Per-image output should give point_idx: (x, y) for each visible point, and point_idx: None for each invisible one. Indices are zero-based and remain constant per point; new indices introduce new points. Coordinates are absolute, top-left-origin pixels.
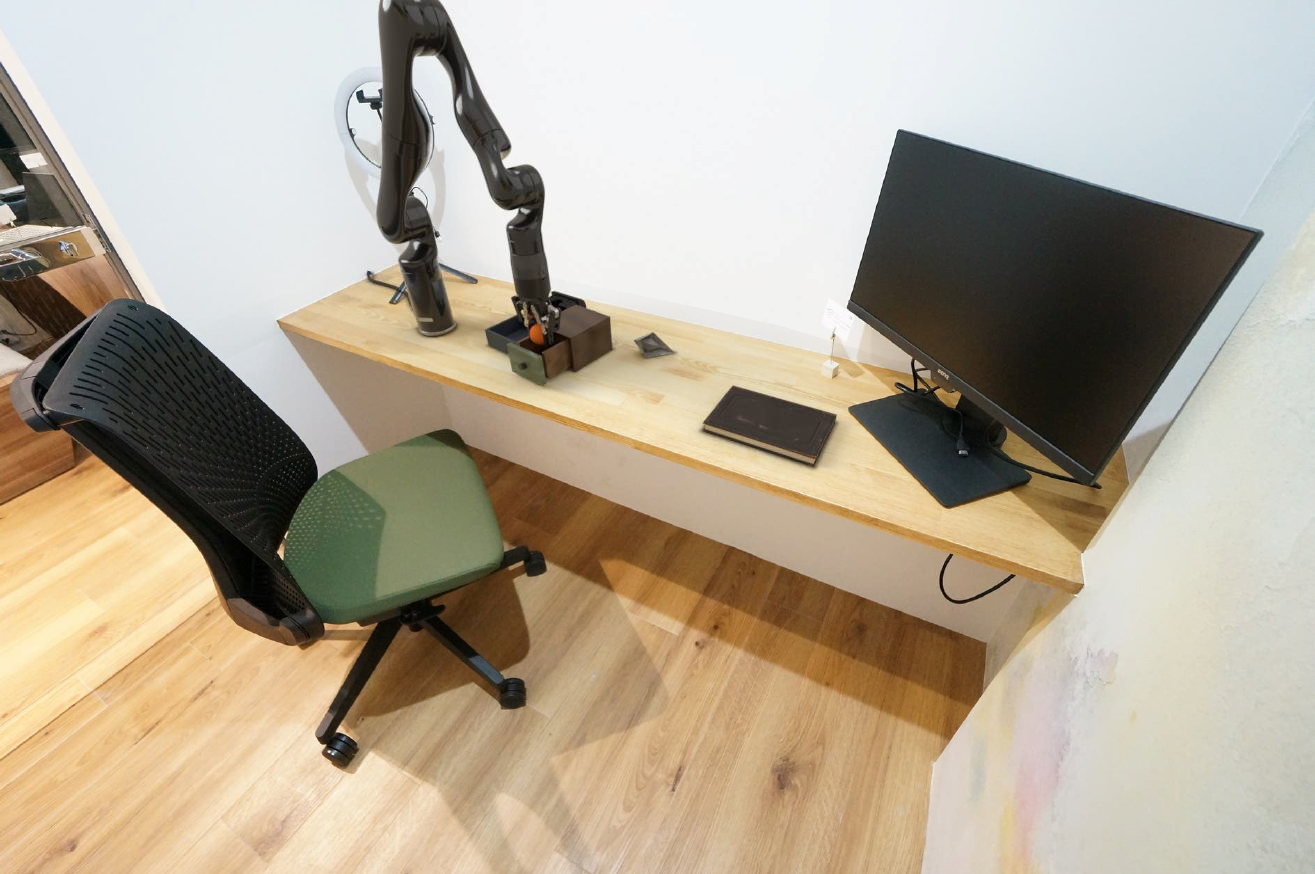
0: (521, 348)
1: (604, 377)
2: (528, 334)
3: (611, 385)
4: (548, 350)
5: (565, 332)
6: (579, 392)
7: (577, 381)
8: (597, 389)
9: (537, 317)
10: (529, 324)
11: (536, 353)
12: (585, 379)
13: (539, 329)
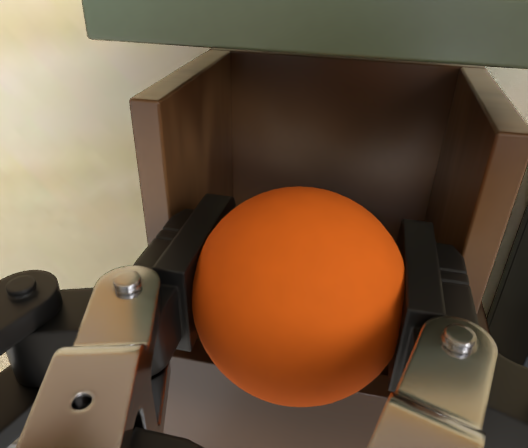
0: (371, 34)
1: (73, 227)
2: (462, 267)
3: (4, 191)
4: (140, 156)
5: (196, 388)
6: (43, 67)
7: (130, 143)
8: (13, 136)
9: (61, 437)
10: (413, 351)
11: (435, 204)
12: (117, 176)
13: (224, 307)
